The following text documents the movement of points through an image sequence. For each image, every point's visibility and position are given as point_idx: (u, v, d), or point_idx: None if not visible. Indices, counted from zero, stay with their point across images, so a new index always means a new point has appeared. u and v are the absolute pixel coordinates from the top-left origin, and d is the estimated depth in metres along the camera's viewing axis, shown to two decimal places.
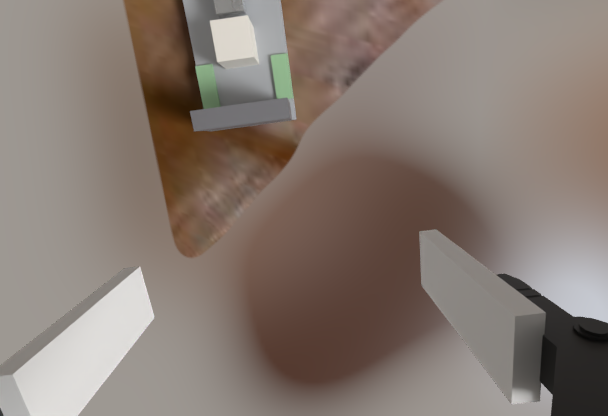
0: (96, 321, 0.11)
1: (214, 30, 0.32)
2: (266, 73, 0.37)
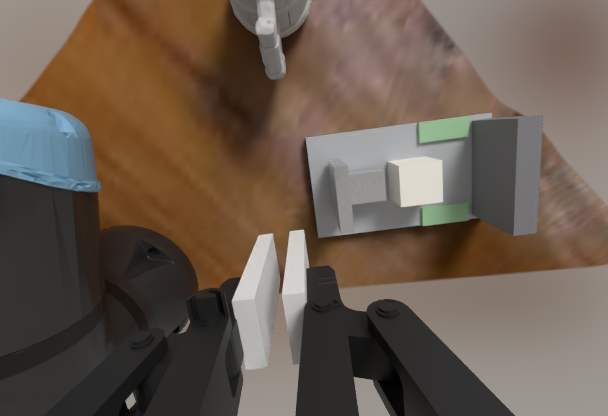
0: (267, 272, 0.13)
1: (411, 202, 0.30)
2: (436, 148, 0.32)
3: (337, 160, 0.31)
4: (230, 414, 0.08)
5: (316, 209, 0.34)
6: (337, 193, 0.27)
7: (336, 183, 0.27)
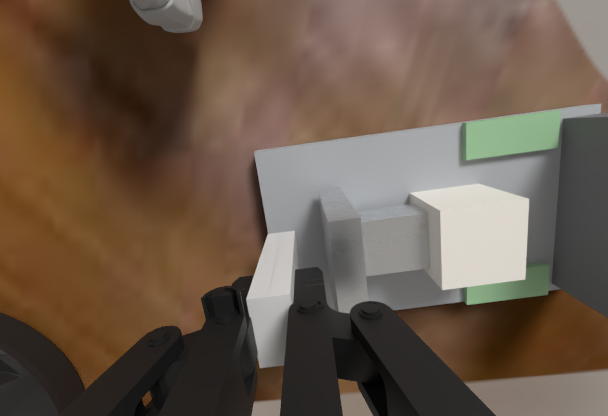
0: None
1: (462, 281, 0.15)
2: (494, 169, 0.18)
3: (335, 193, 0.16)
4: (244, 413, 0.08)
5: None
6: (336, 278, 0.12)
7: (334, 257, 0.12)
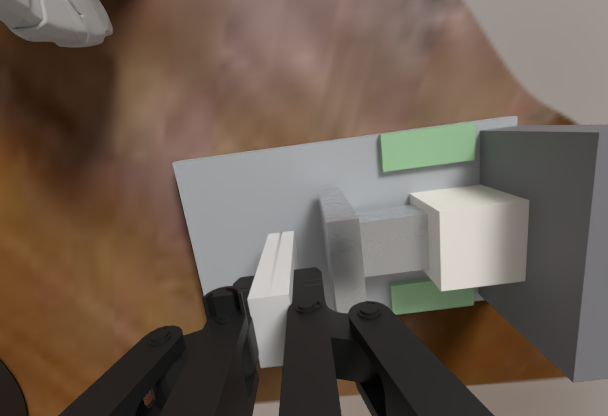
0: None
1: (461, 282, 0.15)
2: (414, 180, 0.18)
3: (335, 193, 0.16)
4: (246, 413, 0.08)
5: (204, 286, 0.19)
6: (335, 278, 0.12)
7: (332, 257, 0.12)
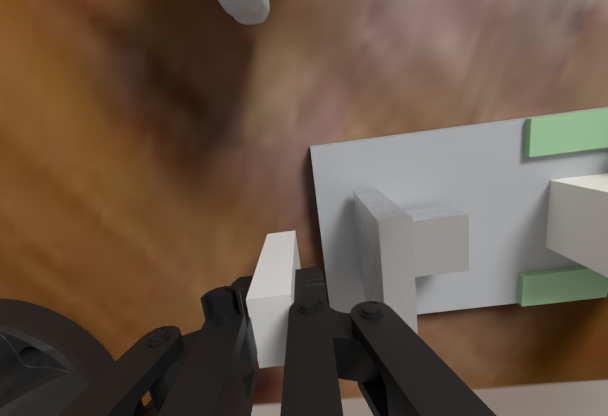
0: None
1: None
2: (557, 167, 0.17)
3: (373, 192, 0.15)
4: (244, 413, 0.08)
5: (329, 276, 0.19)
6: (384, 280, 0.12)
7: (383, 258, 0.11)
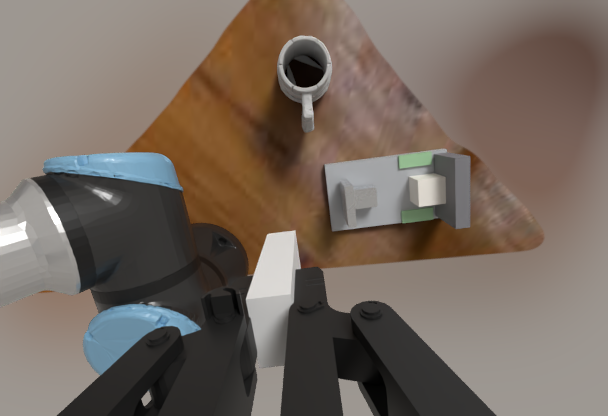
0: None
1: (425, 204, 0.46)
2: (410, 171, 0.49)
3: (345, 180, 0.47)
4: (244, 413, 0.08)
5: (331, 212, 0.51)
6: (346, 202, 0.43)
7: (345, 196, 0.43)
